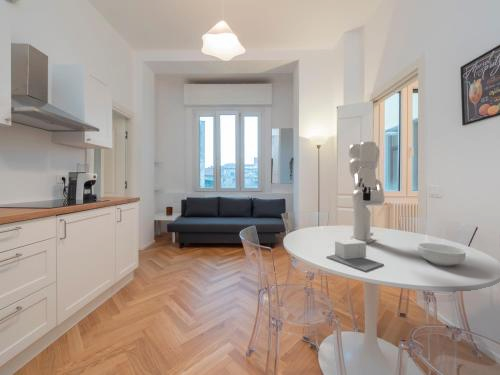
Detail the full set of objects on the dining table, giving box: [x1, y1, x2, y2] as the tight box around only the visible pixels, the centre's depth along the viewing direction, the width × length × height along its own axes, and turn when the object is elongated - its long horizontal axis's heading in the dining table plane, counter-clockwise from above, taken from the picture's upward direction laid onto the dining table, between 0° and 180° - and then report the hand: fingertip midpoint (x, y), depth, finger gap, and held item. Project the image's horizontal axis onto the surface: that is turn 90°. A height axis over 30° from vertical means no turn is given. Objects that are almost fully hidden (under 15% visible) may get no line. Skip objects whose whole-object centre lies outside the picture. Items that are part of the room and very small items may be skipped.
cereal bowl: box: [417, 242, 467, 267], centre depth 106 cm, size 17×17×7 cm
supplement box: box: [334, 239, 367, 260], centre depth 113 cm, size 7×7×13 cm
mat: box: [326, 253, 384, 273], centre depth 108 cm, size 14×20×1 cm
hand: (366, 200), depth 122 cm, fingers closed
